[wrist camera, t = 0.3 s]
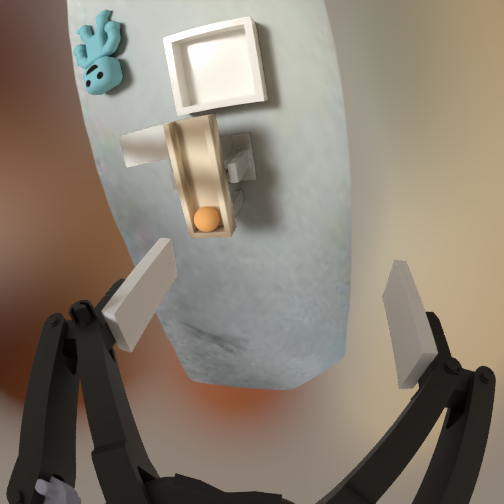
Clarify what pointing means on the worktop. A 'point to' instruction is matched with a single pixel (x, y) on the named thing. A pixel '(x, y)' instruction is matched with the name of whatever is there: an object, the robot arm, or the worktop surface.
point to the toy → (99, 55)
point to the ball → (206, 219)
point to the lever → (188, 166)
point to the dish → (216, 66)
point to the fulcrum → (235, 164)
